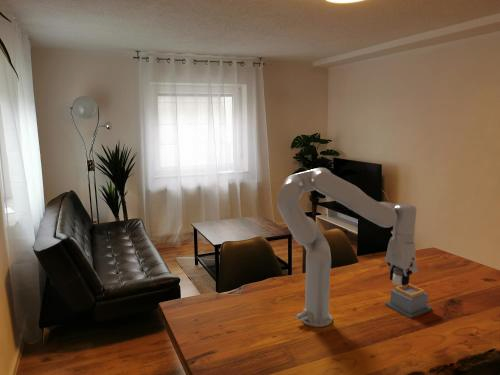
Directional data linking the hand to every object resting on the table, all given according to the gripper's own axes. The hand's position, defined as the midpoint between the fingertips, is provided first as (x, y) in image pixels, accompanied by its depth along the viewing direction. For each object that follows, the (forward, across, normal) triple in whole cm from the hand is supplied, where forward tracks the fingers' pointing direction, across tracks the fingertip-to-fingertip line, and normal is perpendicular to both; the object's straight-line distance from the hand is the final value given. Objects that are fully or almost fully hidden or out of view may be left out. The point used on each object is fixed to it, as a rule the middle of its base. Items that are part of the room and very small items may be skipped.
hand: (399, 281), depth 151 cm
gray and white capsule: (+1, 0, 0) cm, 1 cm away
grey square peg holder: (+18, -7, +16) cm, 25 cm away
